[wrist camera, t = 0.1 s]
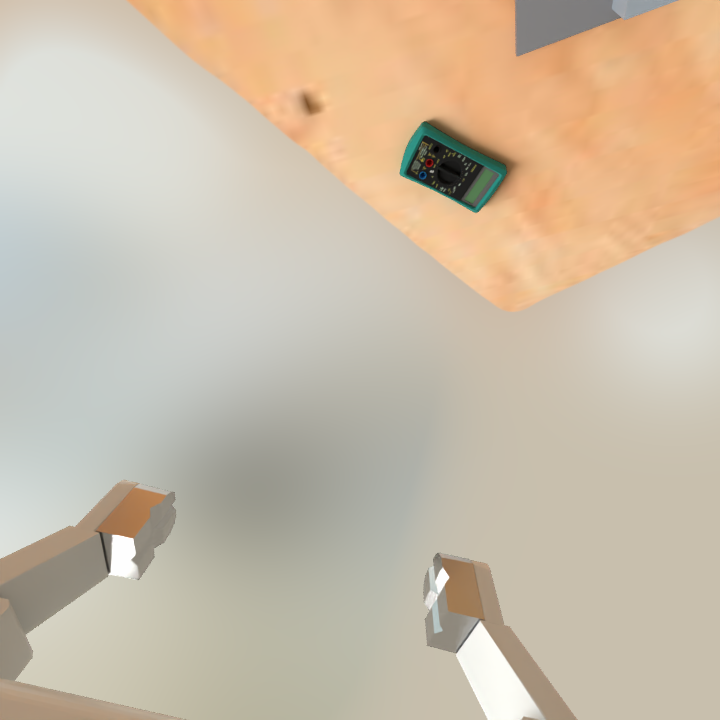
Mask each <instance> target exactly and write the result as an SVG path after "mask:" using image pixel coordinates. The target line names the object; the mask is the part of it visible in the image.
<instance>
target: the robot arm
mask: <svg viewBox="0 0 720 720" xmlns="http://www.w3.org/2000/svg"><path fill="white" fill-rule="evenodd" d="M174 501H175V492H171V491H167V490H163V489H159V488H155V487H151V486H147V485H143V484H140V483H135V482H131V481H127V480H122V481H121V482H119V483H117V484H116V485H115V486H114V487H113V488H112V489H111V490H110V491H109V492H108V493H107V494H106V495H105V496H104V497H103V498H102V499H101V500H100V501H99V503H98V504H97V505H96V506H95V507H94V508H93V509H92V510H91V511H90V512H89V513H88V514H87V515H86V516H85V517H84V518H83V519H82V520H81V521H80V522H79V523H78V524H77V525H76V527H73V526H68V527H66V528H64V529H62V530H60V531H58V532H56V533H54V534H52V535H50V536H48V537H45V538H43V539H41V540H39V541H37V542H35V543H33V544H31V545H29V546H27V547H25V548H22V549H20V550H18V551H16V552H14V553H12V554H10V555H8V556H6V557H4V558H1V559H0V720H186V719H181V718H177V717H173V716H168V715H164V714H159V713H155V712H150V711H146V710H141V709H136V708H133V707H128V706H124V705H119V704H114V703H110V702H106V701H101V700H96V699H92V698H88V697H84V696H79V695H75V694H70V693H66V692H61V691H57V690H52V689H47V688H43V687H38V686H34V685H30V684H25V683H21V682H16V681H15V679H16V678H17V677H18V676H19V674H20V673H21V672H22V670H23V669H24V668H25V666H26V665H27V664H28V662H29V661H30V660H31V659H32V654H33V650H32V648H31V646H30V644H29V642H28V640H27V637H26V634H27V633H29V632H30V631H31V630H33V629H34V628H36V627H37V626H39V625H40V624H41V623H43V622H44V621H45V620H47V619H48V618H50V617H51V616H53V615H54V614H56V613H57V612H58V611H60V610H61V609H63V608H64V607H65V606H67V605H68V604H70V603H71V602H73V601H74V600H75V599H77V598H78V597H80V596H81V595H82V594H84V593H85V592H87V591H88V590H89V589H91V588H92V587H94V586H95V585H96V584H98V583H99V582H101V581H102V580H103V579H105V578H106V577H108V574H111V575H116V576H121V577H126V578H131V579H137V580H139V579H140V578H141V576H142V575H143V573H144V572H145V570H146V569H147V567H148V566H149V564H150V563H151V561H152V560H153V558H154V548H156V547H157V546H159V545H161V544H162V543H164V542H165V540H166V539H167V537H168V536H169V534H170V532H171V530H172V528H173V525H174V523H175V518H176V510H175V508H174V507H173V506H172V504H173V502H174ZM433 563H434V566H432V567H430V568H429V569H428V571H427V573H426V575H425V581H424V592H423V593H424V603H425V604H426V606H427V608H428V610H429V613H428V615H427V617H426V618H425V623H426V636H427V646H430V647H434V648H438V649H442V650H446V651H449V652H453V653H457V654H456V656H457V658H458V660H459V663H460V664H461V666H462V669H463V671H464V673H465V675H466V677H467V679H468V681H469V683H470V685H471V687H472V689H473V691H474V693H475V695H476V696H477V699H478V701H479V703H480V705H481V707H482V709H483V711H484V713H485V715H486V717H487V719H488V720H577V719H576V717H575V716H574V715H573V713H572V712H571V710H570V709H569V708H568V706H567V705H566V703H565V702H564V701H563V699H562V698H561V697H560V695H559V694H558V693H557V691H556V690H555V689H554V687H553V686H552V684H551V683H550V682H549V680H548V679H547V678H546V676H545V675H544V673H543V672H542V671H541V669H540V668H539V667H538V665H537V664H536V662H535V661H534V660H533V658H532V657H531V656H530V654H529V653H528V651H527V650H526V649H525V647H524V646H523V645H522V643H521V642H520V640H519V639H518V638H517V636H516V635H515V634H514V632H513V631H512V629H511V628H510V627H508V626H505V625H504V622H503V618H502V614H501V610H500V606H499V602H498V598H497V594H496V590H495V587H494V583H493V579H492V575H491V571H490V568H489V566H488V565H487V564H486V563H482V562H477V561H472V560H469V559H466V558H461V557H457V556H452V555H447V554H442V553H437V554H436V555H435V557H434V559H433Z"/></svg>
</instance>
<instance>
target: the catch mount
mask: <svg viewBox="0 0 720 720" xmlns="http://www.w3.org/2000/svg"><path fill="white" fill-rule="evenodd" d="M675 1H677V0H515V30H516V56H520V55H522V54H525V53H528V52H530V51H533V50H536V49H538V48H541V47H544V46H546V45H549V44H552V43H554V42H557V41H560V40H562V39H565V38H568V37H570V36H573V35H576V34H578V33H581V32H584V31H586V30H589V29H592V28H594V27H597V26H600V25H602V24H605V23H608V22H611V21H613V20H616V19H619V18H623V19H624V20H626V19H629V18H632V17H634V16H637V15H640V14H642V13H645V12H648V11H650V10H653V9H656V8H659V7H661V6H664V5H667V4H669V3H672V2H675Z"/></svg>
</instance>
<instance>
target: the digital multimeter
mask: <svg viewBox="0 0 720 720" xmlns="http://www.w3.org/2000/svg"><path fill="white" fill-rule="evenodd" d="M434 139H435V140H434ZM436 140H437V141H436ZM449 147H450V148H449ZM451 148H452V149H451ZM464 155H465V156H464ZM466 156H467V157H466ZM479 163H480V164H479ZM481 164H482V165H481ZM462 173H463V174H462ZM506 174H507V171H506V166H505V165H504V164H502V163H500V162H498V161H496V160H494V159H491V158H489V157H487V156H485V155H483V154H481V153H479V152H477V151H475V150H473V149H471V148H469V147H467V146H465V145H463V144H461V143H460V142H458V141H456V140H455V139H453V138H451V137H450V136H448V135H446V134H444V133H443V132H441V131H439V130H438V129H436V128H435V127H433V126H431V125H430V124H428V123H427V122H423V123H422V124H421V125H420V126H419V128H418V129H417V130H416V132H415V133H414V134H413V136H412V138H411V139H410V141H409V143H408V145H407V147H406V150H405V153H404V156H403V160H402V164H401V169H400V175H401V176H403V177H405V178H407V179H410V180H412V181H414V182H417V183H419V184H421V185H423V186H425V187H427V188H430V189H432V190H434V191H436V192H438V193H440V194H442V195H444V196H446V197H448V198H449V199H451V200H453V201H455V202H457V203H459V204H460V205H462V206H464V207H466V208H467V209H469V210H471V211H473V212H475V213H477V212H479V211H480V210H481V208H482V207H483V206H484V205H485V204H486V203H487V201H488V200H489V199H490V198H491V196H492V195H493V194H494V192H495V191H496V190H497V188H498V187H499V185H500V184H501V182H502V181H503V179H504V177H505V176H506ZM497 177H498V178H497ZM460 178H461V179H460Z"/></svg>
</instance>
